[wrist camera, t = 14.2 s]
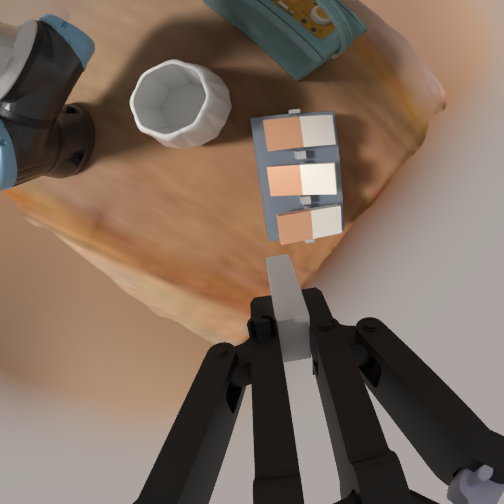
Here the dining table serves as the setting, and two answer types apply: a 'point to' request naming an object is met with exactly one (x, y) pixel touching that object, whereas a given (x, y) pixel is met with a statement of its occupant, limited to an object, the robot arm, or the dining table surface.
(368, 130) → the dining table surface
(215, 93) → the vase
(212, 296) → the dining table surface
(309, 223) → the rocker far
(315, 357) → the robot arm
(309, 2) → the radio
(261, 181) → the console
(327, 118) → the rocker near
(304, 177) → the rocker mid
